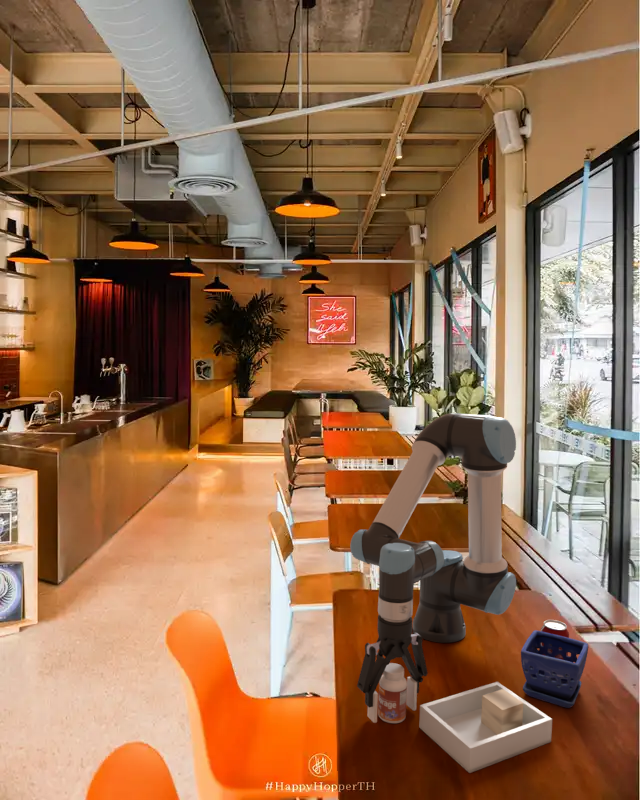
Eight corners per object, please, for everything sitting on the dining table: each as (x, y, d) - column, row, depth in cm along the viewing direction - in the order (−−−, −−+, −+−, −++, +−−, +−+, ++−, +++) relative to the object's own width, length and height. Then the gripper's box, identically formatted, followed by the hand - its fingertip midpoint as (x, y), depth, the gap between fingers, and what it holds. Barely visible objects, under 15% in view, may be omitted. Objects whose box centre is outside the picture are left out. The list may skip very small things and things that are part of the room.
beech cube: (501, 714, 136) (502, 688, 136) (522, 729, 131) (523, 702, 131) (481, 721, 134) (482, 695, 133) (501, 737, 128) (502, 710, 128)
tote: (419, 727, 132) (420, 705, 132) (496, 702, 142) (497, 681, 142) (469, 773, 118) (470, 748, 118) (551, 741, 128) (552, 719, 128)
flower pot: (577, 716, 137) (580, 665, 136) (517, 698, 144) (519, 649, 143) (587, 689, 149) (589, 642, 148) (530, 673, 156) (532, 628, 155)
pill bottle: (372, 716, 136) (373, 668, 135) (387, 704, 140) (389, 658, 140) (396, 728, 132) (397, 678, 131) (411, 715, 136) (412, 667, 136)
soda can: (569, 678, 154) (571, 631, 153) (541, 674, 155) (543, 628, 154) (564, 664, 160) (566, 620, 159) (537, 661, 162) (539, 617, 161)
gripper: (360, 632, 126) (357, 736, 128) (446, 613, 136) (442, 709, 138) (342, 618, 132) (339, 716, 134) (425, 600, 143) (422, 692, 144)
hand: (392, 713), depth 136 cm, fingers open, 10 cm apart
